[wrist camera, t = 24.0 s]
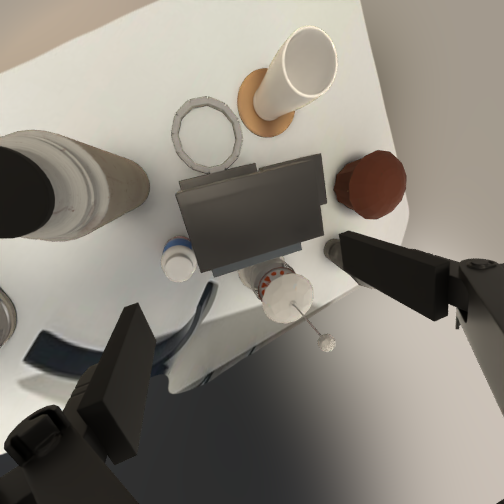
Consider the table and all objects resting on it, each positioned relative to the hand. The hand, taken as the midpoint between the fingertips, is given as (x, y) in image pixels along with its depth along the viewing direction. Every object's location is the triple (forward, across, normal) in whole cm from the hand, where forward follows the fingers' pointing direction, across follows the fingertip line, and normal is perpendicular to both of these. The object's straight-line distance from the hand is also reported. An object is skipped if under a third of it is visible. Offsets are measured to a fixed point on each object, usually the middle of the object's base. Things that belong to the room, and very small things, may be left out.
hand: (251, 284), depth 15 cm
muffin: (+30, +30, -2) cm, 42 cm away
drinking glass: (+30, +15, +15) cm, 37 cm away
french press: (+30, +8, -14) cm, 34 cm away
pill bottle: (+31, -6, -4) cm, 32 cm away
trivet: (+30, +15, +15) cm, 37 cm away
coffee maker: (+30, +4, +7) cm, 31 cm away
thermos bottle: (+31, -11, +9) cm, 34 cm away
